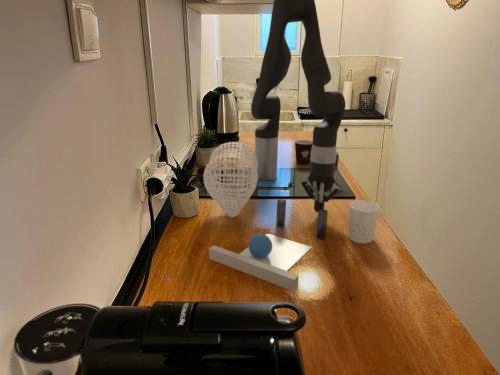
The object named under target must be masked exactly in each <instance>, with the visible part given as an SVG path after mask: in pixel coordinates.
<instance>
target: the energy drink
mask: <svg viewBox="0 0 500 375" xmlns="http://www.w3.org/2000/svg"><path fill="white" fill-rule="evenodd" d="M339 156H340V155H339V152H337V151H336V162H335V173H334V179H335V184H336V183H337V179H338V168H339Z"/></svg>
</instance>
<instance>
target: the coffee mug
mask: <svg viewBox="0 0 500 375" xmlns="http://www.w3.org/2000/svg"><path fill="white" fill-rule="evenodd" d="M312 142H313V140H308V139H297V140H295V141H294V147H295V148H294V149H295V150H294V151H295V162H296V163H295V164H297V165H300V166H308V165H309V166H310V158H311V149H312Z"/></svg>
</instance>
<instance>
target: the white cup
mask: <svg viewBox="0 0 500 375" xmlns="http://www.w3.org/2000/svg"><path fill="white" fill-rule="evenodd" d="M380 208H381V207H380V206H379V205H378V204H377V203H376V202H373V201H369V200H362V199H361V200H359V199H358V200H354V201H351V202H350V203H349V209H348V210H349V212H348V235H347V237H348V239H349V240H350V241H352V242H353V243H357V244H362V245H363V244H364V245H365V244H371V243H372V242H373V240H374V238H375V237H374V236H375V232H376V228H377V224H378V218H379V212H380Z"/></svg>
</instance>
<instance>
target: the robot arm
mask: <svg viewBox="0 0 500 375" xmlns="http://www.w3.org/2000/svg"><path fill="white" fill-rule="evenodd" d="M299 22H301V23H302V26H303V28H304V32H305V33H304V34H305V35H304V40H303V45H302V49H301V53H300V54H301V55H300V61H301V62H300V64H301V66H302V70H303V74H304V76H305V77H304V78H305V80H306V83H307V98H308V99H307V104H308V109H309V111H310V112H311V113H312V115H313V116H315V117H316V118H323V119H322V121H321V122H320V123H318V124H316V125H315V126H314V128H313V131H312V141H313V142H312V149H311V158H310V164H309V175H308V176H307V179H304V180H303V181H301V182H300V184H301V185H302V187H303V190H304V191H305V193H306V194H307V196H308V198H309V199H312V200H314V204H313V209H314V211H315V213H318V211H319V210H325V203H328V202H329V201H330V200H332V199H333V198H334V197H335V196H336V195H337V194H338V193H339V192H340V191H341V190H342V187H341V186H338V185H337V184H336V183H335V179H334V173H335V162H336V152H337V141H338V140H337V139H338V131H339V128H340V126H341V123H342V120H343V117H344V115H345V114H344V113H345V110H346V99H345V97H344V95H343V93H342V92H340V91H336V90H330V91H326V89H325V86H326V85H328V84H329V83H330V82H331V80H332V74H331V70H330V67H329V64H328V61H327V58H326V56H325V51H324V47H323V44H322V38H321V31H320V25H319V24H320V23H319V18H318V12H317V7H316V1H315V0H273V4H272V10H271V18H270V26H269V31H268V32H269V33H268V38H267V42H266V47H265V50H264V54H263V58H262V63H261V68H260V73H259V78H258V81H257V85H256V88H255V92H254V94H253V97H252V100H251V104H250V105H251V106H250V112H251V115H252V118H254V119H255V120H267V122H266V123H265V124H263V125H261V126H258V127H256V128H255V131H254V153H255V154H256V156H257V161H258V168H257V174H258V180H259V181H272V180H276V179H277V176H278V154H279V151H278V150H279V149H278V148H279V146H278V145H279V130H280V120H281V119H280V117H281V110H282V109H281V107H282V106H281V99H280V97H279V95H278V94H277V95H276V94H269V93H270V92H272V91H273V89H274V88H275V87H277V86H278V85H279V84H280V83H281V82H282V81H283V80H284V79H285V78H286V76H287V74H288V72H289V68H290V66H291V65H290V64H291V62H292V52H291V49H290V47H289V44H288V43H287V41H286V38H285V34H286V28H287V25H288V24H289V23H299ZM254 156H255V155H254ZM254 159H255V158H254ZM253 161H254V160H253ZM255 166H256V165H255ZM330 189H331V192H330V193H329V194H328V191H329V190H330ZM327 194H328V195H327Z"/></svg>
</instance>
